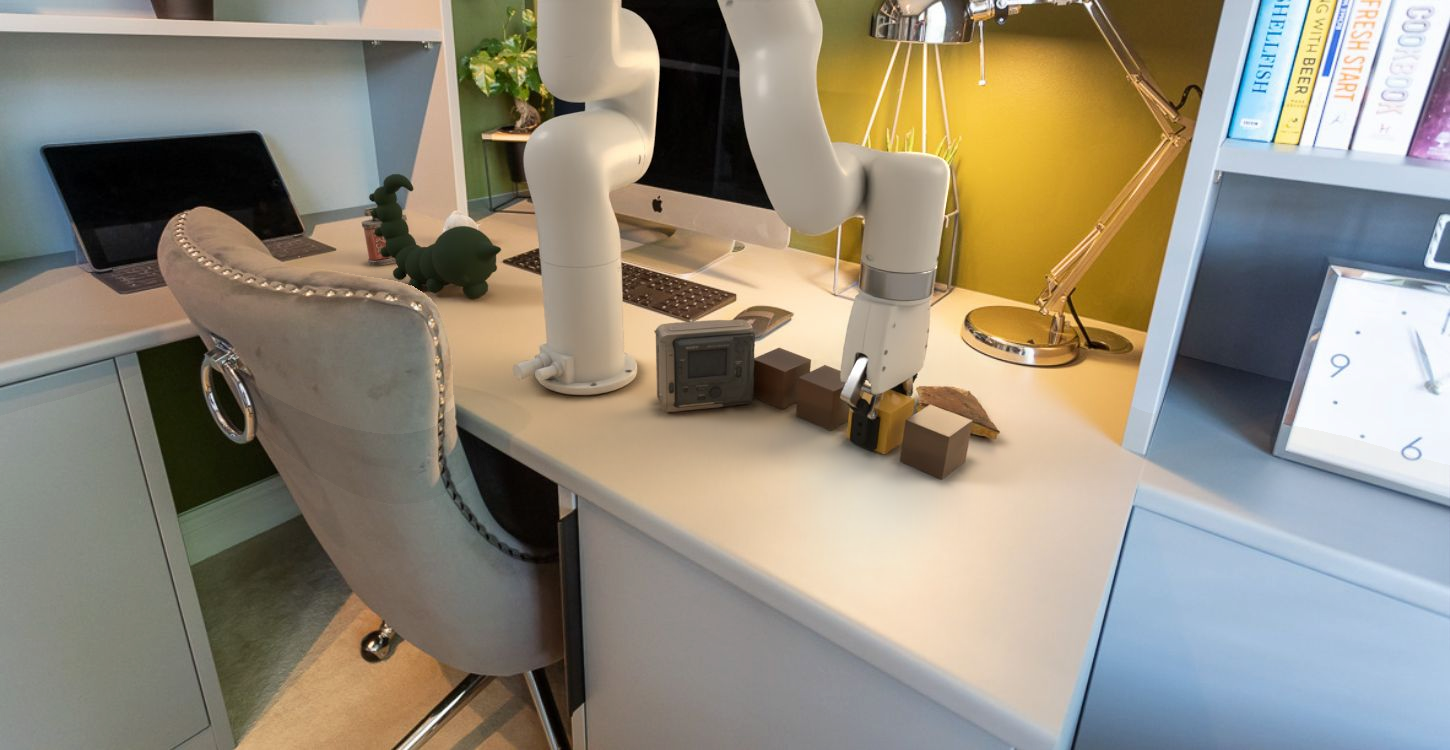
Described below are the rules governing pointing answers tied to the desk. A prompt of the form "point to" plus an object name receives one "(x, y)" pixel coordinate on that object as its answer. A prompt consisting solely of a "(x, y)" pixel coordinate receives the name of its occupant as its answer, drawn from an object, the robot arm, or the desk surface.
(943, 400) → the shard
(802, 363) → the line block
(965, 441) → the line block
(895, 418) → the mustard block
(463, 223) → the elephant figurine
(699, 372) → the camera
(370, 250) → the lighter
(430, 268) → the toy figurine
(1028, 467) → the desk surface
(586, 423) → the desk surface
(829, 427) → the line block
